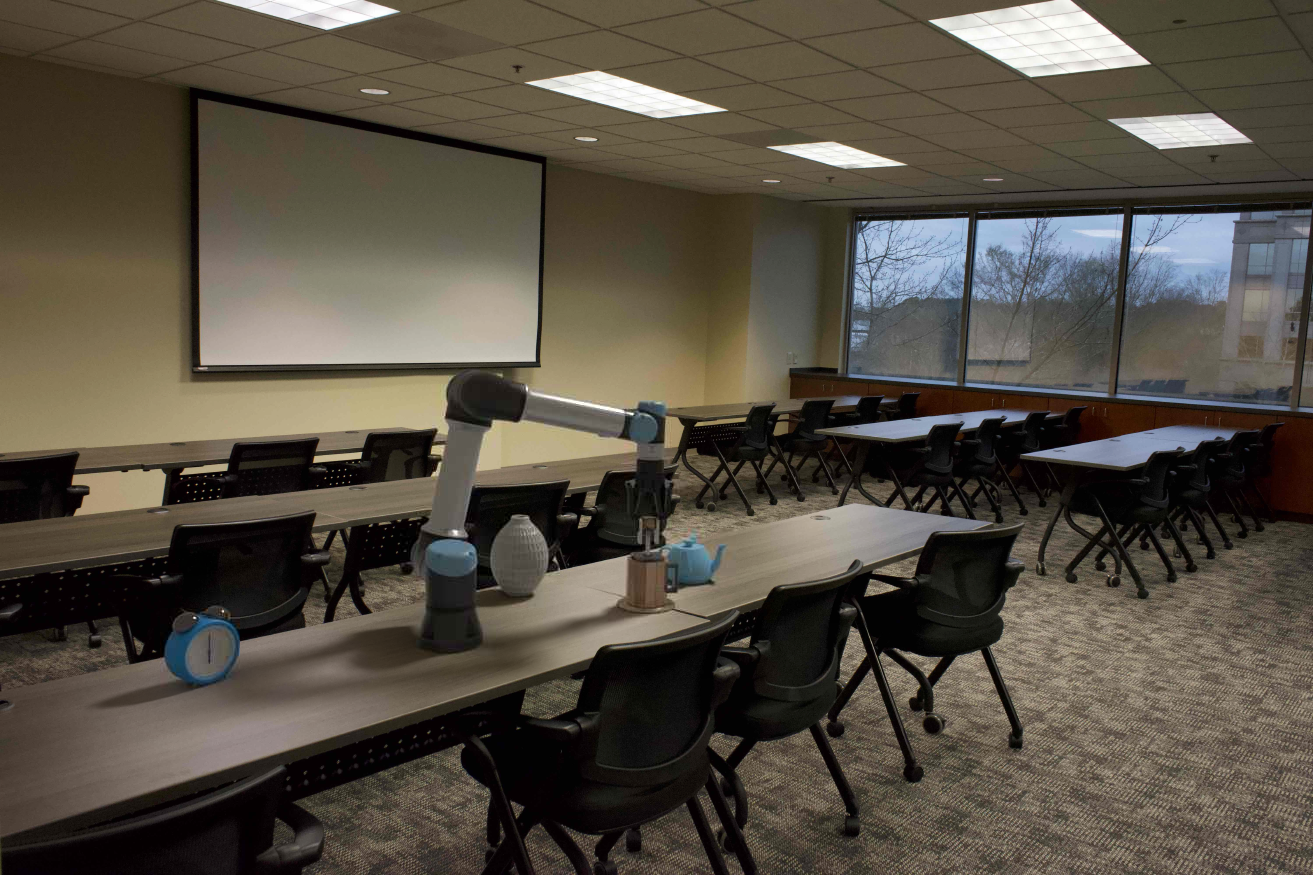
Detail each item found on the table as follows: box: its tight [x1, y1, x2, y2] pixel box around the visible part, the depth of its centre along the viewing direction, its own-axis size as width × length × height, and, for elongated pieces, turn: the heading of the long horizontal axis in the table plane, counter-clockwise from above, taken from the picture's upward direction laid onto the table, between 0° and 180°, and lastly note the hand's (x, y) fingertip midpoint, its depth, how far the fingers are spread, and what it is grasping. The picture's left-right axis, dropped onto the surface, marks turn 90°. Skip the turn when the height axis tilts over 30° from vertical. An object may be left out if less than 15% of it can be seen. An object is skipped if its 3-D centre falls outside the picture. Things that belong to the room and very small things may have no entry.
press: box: [616, 551, 679, 614], centre depth 255 cm, size 16×16×14 cm
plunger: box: [640, 516, 657, 562], centre depth 254 cm, size 7×7×20 cm
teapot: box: [658, 533, 729, 585], centre depth 285 cm, size 17×19×12 cm
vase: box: [489, 514, 549, 597], centre depth 263 cm, size 16×16×22 cm
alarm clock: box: [163, 605, 241, 689], centre depth 189 cm, size 13×6×15 cm, turn 148°
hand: (648, 542), depth 254 cm, fingers closed on plunger, 4 cm apart
